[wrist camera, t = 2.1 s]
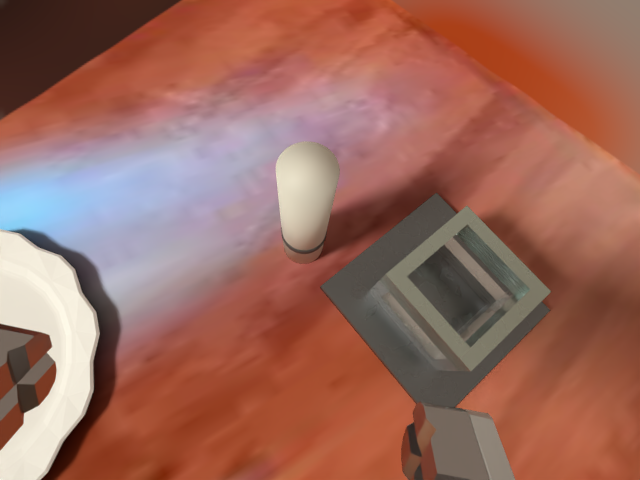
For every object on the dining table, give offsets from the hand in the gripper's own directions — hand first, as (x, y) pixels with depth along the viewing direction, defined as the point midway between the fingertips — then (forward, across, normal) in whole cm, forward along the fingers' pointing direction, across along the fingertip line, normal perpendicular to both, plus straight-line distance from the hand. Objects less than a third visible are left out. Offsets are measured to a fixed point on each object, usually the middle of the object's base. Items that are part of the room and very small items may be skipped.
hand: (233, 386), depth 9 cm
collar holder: (+26, -14, +14) cm, 33 cm away
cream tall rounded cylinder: (+29, 0, +12) cm, 31 cm away
